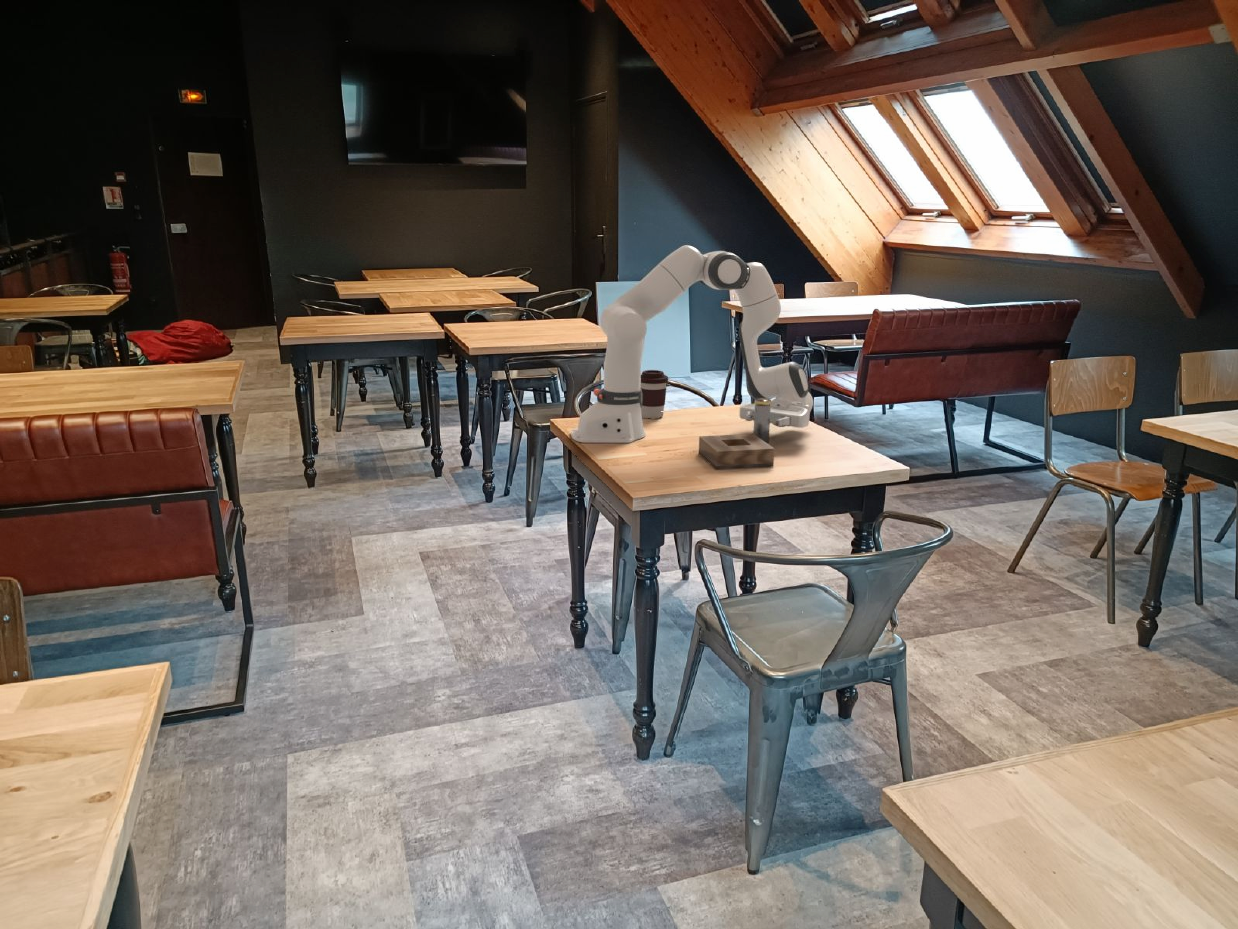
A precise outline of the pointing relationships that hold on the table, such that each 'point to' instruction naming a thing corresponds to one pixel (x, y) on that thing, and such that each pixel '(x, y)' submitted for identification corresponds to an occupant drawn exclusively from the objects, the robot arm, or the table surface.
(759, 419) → the steel rod
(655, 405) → the coffee cup
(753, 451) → the post block
